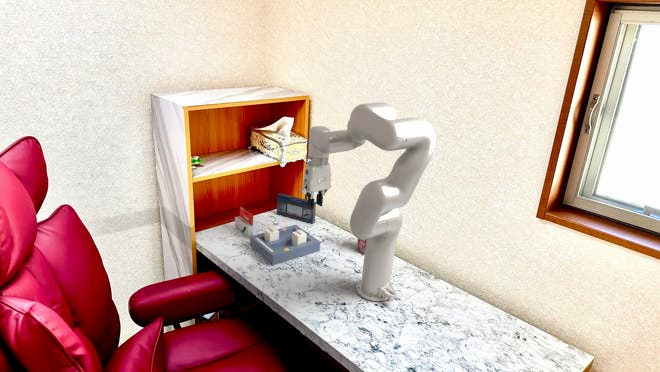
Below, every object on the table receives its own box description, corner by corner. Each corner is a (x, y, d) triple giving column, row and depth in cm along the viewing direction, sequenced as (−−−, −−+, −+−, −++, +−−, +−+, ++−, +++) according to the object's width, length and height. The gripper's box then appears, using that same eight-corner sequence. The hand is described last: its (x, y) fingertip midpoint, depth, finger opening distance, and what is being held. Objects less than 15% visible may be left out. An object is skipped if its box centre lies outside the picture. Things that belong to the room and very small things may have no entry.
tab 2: (306, 245, 166) (306, 232, 164) (297, 248, 163) (298, 235, 161) (300, 241, 169) (300, 228, 167) (291, 243, 166) (292, 230, 164)
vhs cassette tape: (276, 214, 195) (277, 194, 192) (279, 212, 198) (280, 192, 194) (311, 225, 188) (313, 204, 184) (315, 222, 190) (316, 202, 187)
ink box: (248, 238, 172) (248, 216, 168) (234, 228, 180) (234, 206, 176) (253, 237, 173) (253, 215, 170) (239, 226, 181) (240, 205, 178)
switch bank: (319, 250, 167) (320, 241, 166) (272, 265, 154) (273, 255, 153) (295, 233, 179) (295, 224, 178) (250, 245, 167) (250, 236, 165)
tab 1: (278, 242, 166) (279, 229, 164) (269, 245, 164) (270, 232, 162) (273, 238, 169) (273, 225, 167) (264, 241, 166) (264, 228, 165)
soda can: (375, 255, 167) (378, 228, 162) (357, 254, 167) (360, 226, 162) (373, 247, 173) (377, 220, 169) (356, 245, 173) (359, 218, 169)
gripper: (305, 166, 150) (302, 214, 157) (341, 160, 160) (337, 205, 167) (293, 160, 156) (291, 206, 162) (329, 154, 166) (326, 198, 172)
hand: (314, 205), depth 164 cm, fingers open, 3 cm apart
